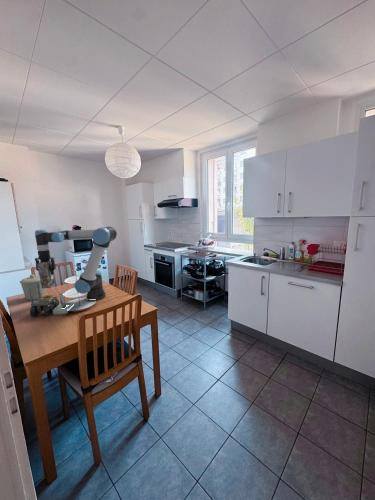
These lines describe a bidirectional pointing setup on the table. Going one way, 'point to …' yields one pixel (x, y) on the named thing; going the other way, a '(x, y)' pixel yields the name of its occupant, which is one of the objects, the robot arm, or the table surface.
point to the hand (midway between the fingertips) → (47, 278)
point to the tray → (62, 311)
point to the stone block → (45, 274)
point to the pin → (62, 300)
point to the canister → (29, 282)
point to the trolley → (42, 303)
